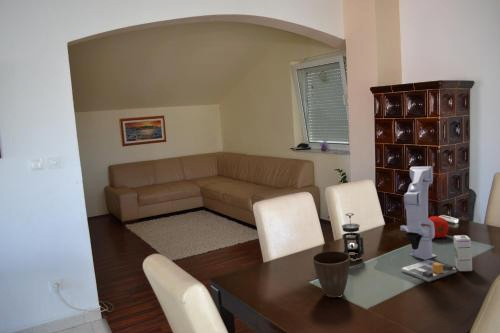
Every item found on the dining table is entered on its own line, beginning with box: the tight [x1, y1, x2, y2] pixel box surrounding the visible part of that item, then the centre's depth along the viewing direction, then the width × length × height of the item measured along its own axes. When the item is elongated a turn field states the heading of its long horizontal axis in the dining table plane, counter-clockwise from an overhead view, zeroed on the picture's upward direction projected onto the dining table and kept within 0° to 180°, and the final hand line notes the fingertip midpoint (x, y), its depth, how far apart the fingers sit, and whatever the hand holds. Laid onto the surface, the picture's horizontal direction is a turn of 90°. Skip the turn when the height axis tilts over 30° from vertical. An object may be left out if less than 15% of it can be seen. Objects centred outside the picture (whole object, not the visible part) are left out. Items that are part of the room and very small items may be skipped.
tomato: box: [423, 215, 450, 239], centre depth 227 cm, size 13×13×13 cm
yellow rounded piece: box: [432, 261, 443, 274], centre depth 177 cm, size 3×3×4 cm
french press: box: [341, 212, 365, 259], centre depth 207 cm, size 12×9×23 cm
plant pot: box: [312, 250, 351, 296], centre depth 168 cm, size 15×15×16 cm
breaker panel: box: [400, 259, 458, 283], centre depth 182 cm, size 15×17×3 cm
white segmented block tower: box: [453, 234, 473, 272], centre depth 181 cm, size 6×6×14 cm
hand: (415, 248), depth 183 cm, fingers closed
